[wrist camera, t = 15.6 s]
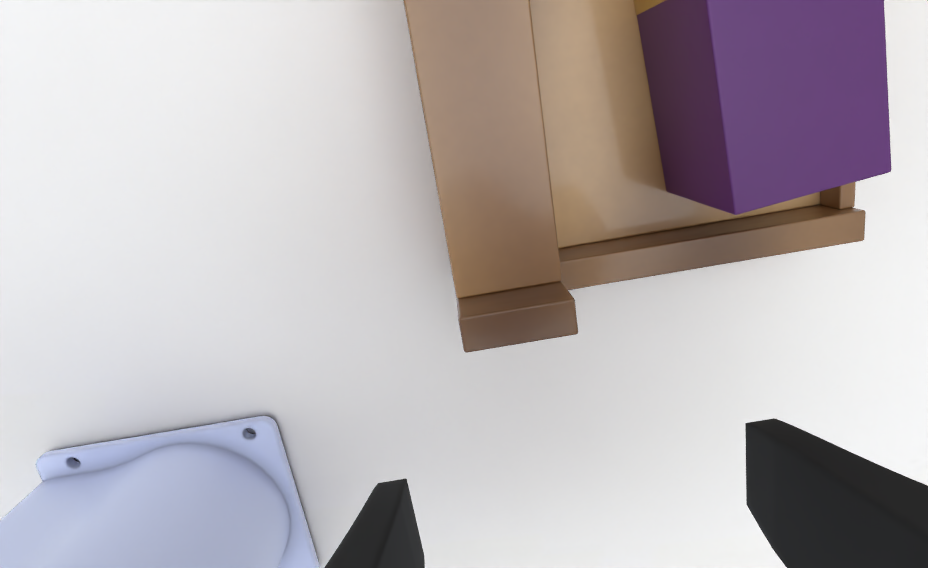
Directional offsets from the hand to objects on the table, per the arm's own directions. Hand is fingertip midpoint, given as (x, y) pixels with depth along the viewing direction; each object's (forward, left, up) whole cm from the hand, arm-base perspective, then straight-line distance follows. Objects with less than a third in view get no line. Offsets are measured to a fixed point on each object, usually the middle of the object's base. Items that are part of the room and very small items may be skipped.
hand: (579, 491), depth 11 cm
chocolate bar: (+7, +9, -8) cm, 14 cm away
